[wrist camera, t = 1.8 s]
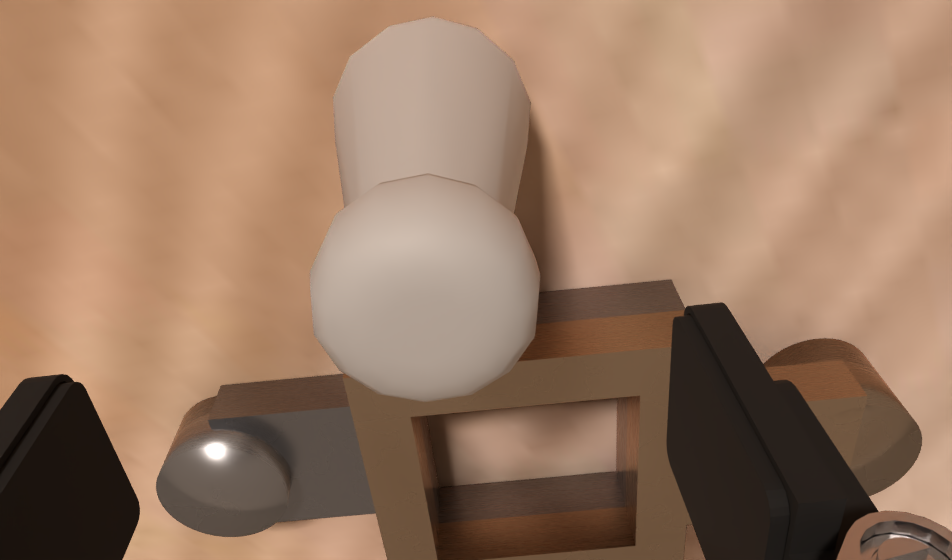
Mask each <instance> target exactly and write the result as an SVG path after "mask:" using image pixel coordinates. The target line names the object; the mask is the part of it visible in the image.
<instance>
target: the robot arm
mask: <svg viewBox="0 0 952 560" xmlns="http://www.w3.org/2000/svg"><path fill="white" fill-rule="evenodd" d="M666 446H667V454H668V459H669V463H670V466H671V469H672V472H673V474H674V477H675V479H676V482H677V485H678V487H679V490H680V493H681V495H682V498H683V501H684V503H685V506H686V508H687V511H688V514H689V516H690V519H691V522H692V524H693V527H694V530H695V532H696V535H697V537H698V540H699V543H700V545H701V548H702V551H703V553H704V556H705V559H706V560H952V532H951V531H950V530H949V529H947V528H946V527H944V526H942V525H940V524H938V523H936V522H934V521H932V520H930V519H927V518H925V517H921V516H918V515H914V514H911V513H907V512H898V511H881V512H878V510H877V508H876V507H875V505H874V504H873V502H872V501H871V499H870V498H869V496H868V495H867V493H866V492H865V490H864V489H863V487H862V486H861V484H860V483H859V481H858V480H857V478H856V477H855V475H854V474H853V472H852V471H851V469H850V468H849V466H848V465H847V463H846V461H845V460H844V458H843V457H842V455H841V454H840V452H839V451H838V449H837V448H836V446H835V445H834V443H833V442H832V440H831V439H830V437H829V436H828V434H827V433H826V431H825V430H824V428H823V427H822V425H821V424H820V422H819V421H818V419H817V418H816V416H815V414H814V413H813V411H812V410H811V408H810V407H809V405H808V404H807V402H806V401H805V399H804V398H803V396H802V395H801V393H800V392H799V390H798V389H797V388H796V386H795V385H794V384H793V383H792V382H790V381H788V380H777V381H773V379H772V378H771V376H770V374H769V373H768V371H767V370H766V368H765V366H764V365H763V363H762V362H761V360H760V358H759V357H758V355H757V354H756V352H755V350H754V349H753V347H752V346H751V344H750V342H749V341H748V339H747V338H746V336H745V334H744V333H743V331H742V330H741V328H740V326H739V325H738V323H737V322H736V320H735V318H734V317H733V315H732V314H731V312H730V310H729V309H728V307H727V306H726V305H725V304H724V303H712V304H703V305H694V306H687V307H686V308H685V311H684V316H678V317H675V318H674V319H673V325H672V343H671V363H670V382H669V401H668V420H667V439H666ZM139 515H140V507H139V501H138V498H137V496H136V494H135V492H134V490H133V488H132V486H131V484H130V481H129V479H128V477H127V475H126V473H125V471H124V469H123V467H122V465H121V462H120V460H119V458H118V456H117V454H116V452H115V450H114V448H113V446H112V443H111V441H110V439H109V437H108V435H107V433H106V431H105V429H104V427H103V425H102V422H101V420H100V418H99V416H98V414H97V412H96V410H95V408H94V406H93V403H92V401H91V399H90V397H89V395H88V393H87V391H86V389H85V387H84V386H83V385H82V384H81V383H80V382H74V381H73V380H72V378H70V377H69V376H68V375H64V374H60V375H51V376H42V377H33V378H27V379H24V380H23V381H22V382H21V383H20V384H19V385H18V387H17V388H16V389H15V391H14V392H13V393H12V395H11V396H10V397H9V399H8V400H7V401H6V403H5V404H4V406H3V407H2V408H1V410H0V560H122V559H123V557H124V555H125V552H126V550H127V547H128V545H129V543H130V540H131V538H132V536H133V533H134V531H135V528H136V526H137V524H138V520H139Z"/></svg>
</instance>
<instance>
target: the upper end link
mask: <svg viewBox="0 0 952 560" xmlns="http://www.w3.org/2000/svg"><path fill="white" fill-rule="evenodd" d="M684 311H685V310H679V311H668V312H658V313H648V314H637V315H627V316H616V317H606V318H595V319H585V320H575V321H564V322H554V323H543V324H536V330H535V337H534V339H533V340H532V341H531V343H530V344H529V346H528V347H527V348H526V350H525V351H524V353H523V354H522V355H521V357H520V358H519V360H518V361H517V362H516V364H515V365H514V367H513V368H512V369H511V371H510V372H508V373H507V374H505V375H504V376H502V377H500V378H499V379H497V380H495V381H494V382H492V383H490V384H489V385H487V386H485V387H484V388H482V389H480V390H479V391H477V392H475V393H474V394H472V395H467V396H461V397H454V398H448V399H442V400H435V401H429V402H422V401H416V400H410V399H404V398H398V397H392V396H386V395H380V394H377V393H376V392H374V391H372V390H371V389H369V388H367V387H366V386H364V385H363V384H361V383H359V382H358V381H356V380H354V379H353V378H351V377H349V376H348V375H346V374H345V373H344V374H343V381H344V385H345V390H346V394H347V398H348V402H349V406H350V410H351V414H352V418H353V422H354V426H355V430H356V434H357V438H358V442H359V447H360V451H361V455H362V459H363V463H364V467H365V471H366V475H367V479H368V483H369V487H370V491H371V495H372V499H373V504H374V508H375V512H376V516H377V520H378V524H379V528H380V532H381V536H382V540H383V544H384V548H385V552H386V556H387V560H684V549H685V538H686V526H687V525H692V522H691V519H690V516H689V514H688V511H687V508H686V506H685V503H684V501H683V498H682V495H681V493H680V490H679V487H678V485H677V482H676V479H675V477H674V474H673V472H672V469H671V466H670V463H669V459H668V454H667V446H666V439H667V420H668V401H669V382H670V363H671V343H672V325H673V319H674V318H675V317H678V316H684ZM763 365H764V366H765V368H766V370H767V371H768V373H769V374H770V376H771V378H772V379H773V381H777V380H788V381H790V382H792V383H793V384H794V385H795V386H796V388H797V389H798V390H799V392H800V393H801V395H802V396H803V398H804V399H805V401H806V402H807V404H808V405H809V407H810V408H811V410H812V411H813V413H814V414H815V416H816V418H817V419H818V421H819V422H820V424H821V425H822V427H823V428H824V430H825V431H826V433H827V434H828V436H829V437H830V439H831V440H832V442H833V443H834V445H835V446H836V448H837V449H838V451H839V452H840V454H841V455H842V457H843V458H844V460H845V461H846V463H847V465H848V466H849V468H850V469H851V471H852V472H853V474H854V475H855V477H856V478H857V480H858V481H859V483H860V484H861V486H862V487H863V489H864V490H865V492H866V493H867V495H868V496H871V495H874V494H876V493H878V492H880V491H882V490H884V489H886V488H887V487H889V486H891V485H892V484H894V483H895V482H896V481H898V480H899V479H900V478H901V477H903V476H904V475H905V474H906V473H907V472H908V471H909V469H910V468H911V467H912V466H913V464H914V463H915V461H916V459H917V458H918V455H919V453H920V450H921V446H922V435H921V431H920V429H919V426H918V425H917V423H916V422H915V421H914V419H913V418H912V417H911V415H910V414H909V413H908V411H907V410H906V409H905V408H904V406H903V405H902V404H901V402H900V401H899V400H898V398H897V397H896V396H895V395H894V393H893V392H892V391H891V389H890V388H889V387H888V385H887V384H886V383H885V382H884V380H883V379H882V378H881V376H880V375H879V374H878V372H877V371H876V370H875V369H874V367H873V366H872V365H871V363H870V362H869V361H868V359H867V358H866V357H865V356H864V354H863V353H862V352H861V351H860V350H859V349H858V348H856V347H855V346H853V345H851V344H849V343H847V342H844V341H841V340H836V339H826V338H825V339H813V340H807V341H803V342H800V343H797V344H794V345H791V346H789V347H787V348H785V349H783V350H781V351H780V352H778V353H776V354H775V355H774V356H772V357H771V358H770V359H769V360H767V361H766V362H765V363H764V364H763ZM619 397H628V401H627V451H626V502H625V507H617V508H606V509H595V510H584V511H573V512H562V513H551V514H540V515H529V516H518V517H507V518H496V519H484V520H473V521H462V522H451V523H440V524H439V522H438V517H437V511H436V506H435V500H434V495H433V489H432V484H431V478H430V473H429V467H428V462H427V456H426V451H425V445H424V439H423V434H422V428H421V423H420V417H419V416H427V415H438V414H448V413H459V412H470V411H480V410H491V409H502V408H513V407H523V406H534V405H545V404H555V403H566V402H577V401H587V400H598V399H609V398H619Z"/></svg>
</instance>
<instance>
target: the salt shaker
mask: <svg viewBox="0 0 952 560" xmlns="http://www.w3.org/2000/svg"><path fill="white" fill-rule="evenodd" d="M333 105H334V128H335V144H336V151H337V158H338V165H339V172H340V179H341V186H342V194H343V201H344V209H342V210H341V211H339V212H338V213H337V214H336V215H335V217H334V219H333V221H332V224H331V226H330V228H329V230H328V232H327V234H326V237H325V239H324V241H323V243H322V245H321V247H320V250H319V252H318V254H317V256H316V259H315V261H314V263H313V266H312V268H311V270H310V292H311V304H312V317H313V329H314V335H315V337H316V338H317V340H318V341H319V342H320V344H321V345H322V347H323V348H324V349H325V351H326V352H327V354H328V355H329V357H330V358H331V359H332V361H333V362H334V364H335V365H336V366H337V368H338V369H339V370H340V371H341V372H343V373H345V374H346V375H348V376H349V377H351V378H353V379H354V380H356V381H358V382H359V383H361V384H363V385H364V386H366V387H367V388H369V389H371V390H372V391H374V392H376V393H377V394H380V395H386V396H392V397H398V398H404V399H410V400H416V401H422V402H429V401H435V400H442V399H448V398H454V397H461V396H467V395H472V394H474V393H475V392H477V391H479V390H480V389H482V388H484V387H485V386H487V385H489V384H490V383H492V382H494V381H495V380H497V379H499V378H500V377H502V376H504V375H505V374H507V373H508V372H510V371H511V369H512V368H513V367H514V365H515V364H516V362H517V361H518V360H519V358H520V357H521V355H522V354H523V353H524V351H525V350H526V348H527V347H528V346H529V344H530V343H531V341H532V340H533V339H534V337H535V330H536V321H537V311H538V299H539V287H540V272H539V268H538V265H537V261H536V258H535V256H534V253H533V251H532V249H531V247H530V244H529V242H528V240H527V238H526V235H525V233H524V231H523V229H522V226H521V224H520V222H519V219H518V217H517V216H516V215H514V211H515V206H516V201H517V196H518V191H519V186H520V181H521V176H522V171H523V166H524V161H525V155H526V150H527V145H528V132H529V119H530V105H531V102H530V99H529V97H528V94H527V92H526V89H525V87H524V84H523V82H522V80H521V77H520V75H519V72H518V70H517V67H516V65H515V62H514V61H513V59H512V58H511V57H510V56H508V55H507V54H506V53H505V52H504V51H503V50H502V49H500V48H499V47H498V46H497V45H496V44H495V43H494V42H492V41H491V40H490V39H489V38H488V37H487V36H486V35H484V34H483V33H482V32H481V31H480V30H479V29H478V28H474V27H471V26H467V25H463V24H460V23H456V22H452V21H448V20H445V19H441V18H437V17H434V16H433V17H428V18H423V19H419V20H414V21H409V22H405V23H400V24H395V25H391V26H389V27H387V28H386V29H385V30H383V31H382V32H381V33H380V34H378V35H377V36H376V37H374V38H373V39H372V40H371V41H369V42H368V43H367V44H365V45H364V46H363V47H362V48H360V49H359V50H358V51H356V52H355V53H354V54H353V55H351V56H350V58H349V60H348V62H347V65H346V67H345V70H344V72H343V75H342V77H341V79H340V82H339V84H338V87H337V89H336V92H335V94H334V96H333Z"/></svg>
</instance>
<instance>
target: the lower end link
mask: <svg viewBox="0 0 952 560" xmlns="http://www.w3.org/2000/svg"><path fill="white" fill-rule="evenodd" d="M679 310H685V307H684V305H683V303H682V301H681V299H680V297H679V295H678V293H677V291H676V289H675V286H674V284H673V282H672V280H664V281H653V282H643V283H633V284H622V285H612V286H602V287H591V288H581V289H571V290H560V291H550V292H540V293H539V299H538V311H537V321H536V324H543V323H554V322H564V321H575V320H585V319H595V318H606V317H616V316H627V315H637V314H648V313H658V312H668V311H679ZM627 401H628V397H619V398H617V456H616V472H606V473H595V474H584V475H573V476H562V477H551V478H540V479H529V480H518V481H507V482H496V483H485V484H474V485H464V486H453V487H442V488H439V484H438V478H437V473H436V467H435V461H434V455H433V450H432V444H431V438H430V432H429V427H428V421H427V416H419V417H420V423H421V428H422V434H423V439H424V445H425V451H426V456H427V462H428V467H429V473H430V478H431V484H432V489H433V495H434V500H435V506H436V511H437V517H438V522H439V524H440V523H451V522H462V521H473V520H484V519H496V518H507V517H518V516H529V515H540V514H551V513H562V512H573V511H584V510H595V509H606V508H617V507H625V502H626V451H627ZM156 490H157V495H158V498H159V500H160V502H161V504H162V506H163V507H164V508H165V510H166V511H167V512H168V513H169V514H170V515H171V516H172V517H173V518H175V519H176V520H177V521H179V522H180V523H182V524H183V525H185V526H187V527H189V528H191V529H194V530H196V531H199V532H202V533H206V534H210V535H215V536H222V537H240V536H247V535H251V534H255V533H258V532H261V531H263V530H265V529H267V528H269V527H271V526H272V525H274V524H275V523H276V522H285V521H296V520H307V519H318V518H329V517H340V516H351V515H362V514H373V513H376V512H375V508H374V504H373V499H372V495H371V491H370V487H369V483H368V479H367V475H366V471H365V467H364V463H363V459H362V455H361V451H360V447H359V442H358V438H357V434H356V430H355V426H354V422H353V418H352V414H351V410H350V406H349V402H348V398H347V394H346V390H345V385H344V381H343V374H338V375H327V376H317V377H306V378H296V379H285V380H275V381H264V382H254V383H243V384H233V385H222V386H221V387H220V390H219V392H218V395H217V396H215V397H212V398H208V399H206V400H203V401H201V402H199V403H198V404H196V405H195V406H193V407H192V408H191V409H190V410H189V411H188V412H187V413H186V415H185V416H184V418H183V420H182V422H181V425H180V427H179V429H178V431H177V434H176V436H175V438H174V441H173V443H172V445H171V448H170V450H169V452H168V454H167V457H166V459H165V461H164V464H163V466H162V468H161V471H160V473H159V475H158V478H157V482H156Z"/></svg>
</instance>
